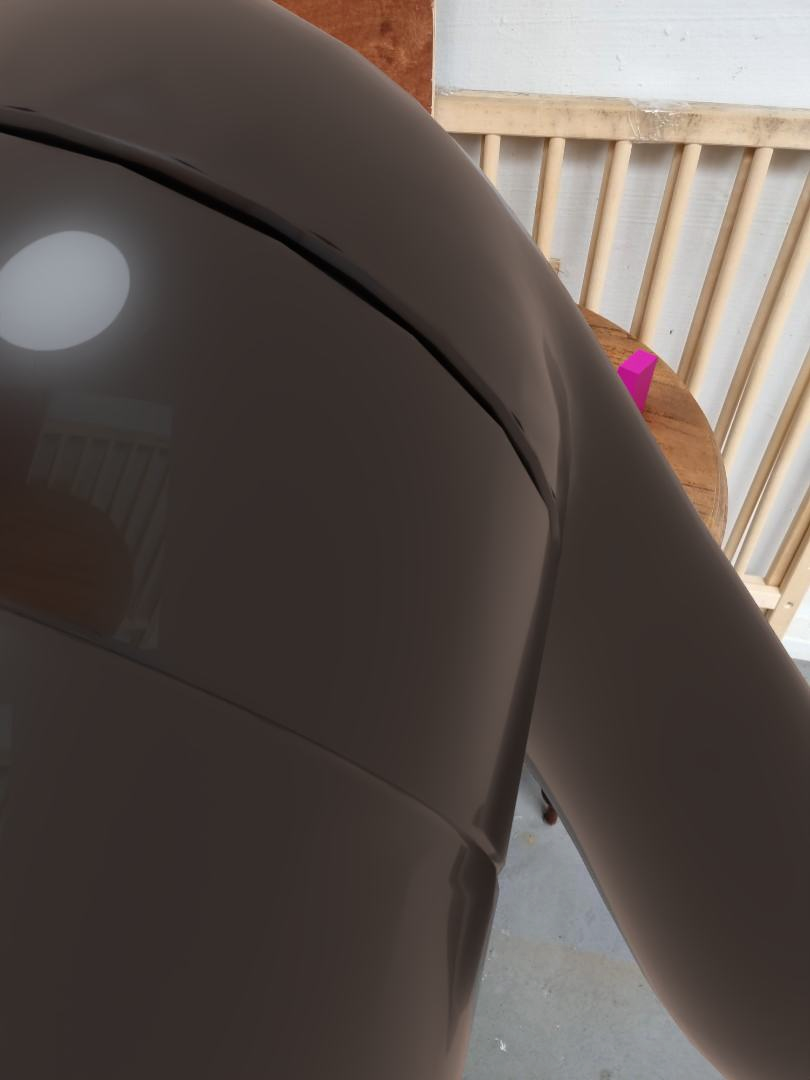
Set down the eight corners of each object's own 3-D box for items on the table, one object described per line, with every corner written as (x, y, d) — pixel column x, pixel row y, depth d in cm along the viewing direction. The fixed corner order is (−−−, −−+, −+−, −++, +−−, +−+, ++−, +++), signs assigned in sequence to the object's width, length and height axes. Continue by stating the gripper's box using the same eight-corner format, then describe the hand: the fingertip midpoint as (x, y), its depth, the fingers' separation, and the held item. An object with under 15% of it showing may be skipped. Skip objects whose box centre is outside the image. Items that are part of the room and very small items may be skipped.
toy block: (485, 389, 82) (491, 327, 77) (519, 363, 86) (527, 302, 80) (608, 449, 76) (624, 386, 70) (640, 419, 79) (658, 356, 73)
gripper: (768, 557, 34) (533, 376, 43) (511, 713, 29) (306, 469, 38) (719, 656, 39) (519, 476, 49) (495, 802, 34) (320, 569, 44)
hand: (426, 473), depth 43 cm, fingers open, 8 cm apart
